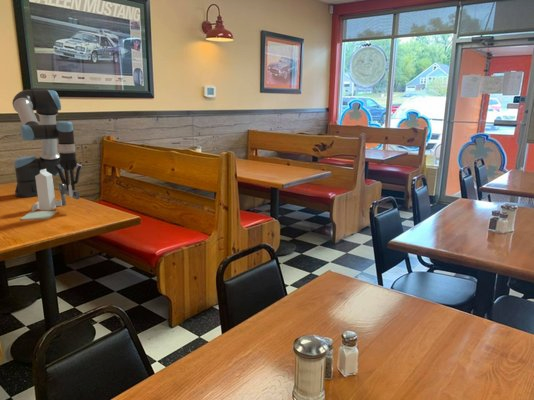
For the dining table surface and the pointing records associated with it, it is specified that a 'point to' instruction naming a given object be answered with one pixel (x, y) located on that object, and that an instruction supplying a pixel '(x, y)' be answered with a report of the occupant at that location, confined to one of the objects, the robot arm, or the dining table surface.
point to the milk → (45, 190)
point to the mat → (38, 215)
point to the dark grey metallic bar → (64, 190)
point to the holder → (58, 203)
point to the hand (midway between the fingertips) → (71, 196)
